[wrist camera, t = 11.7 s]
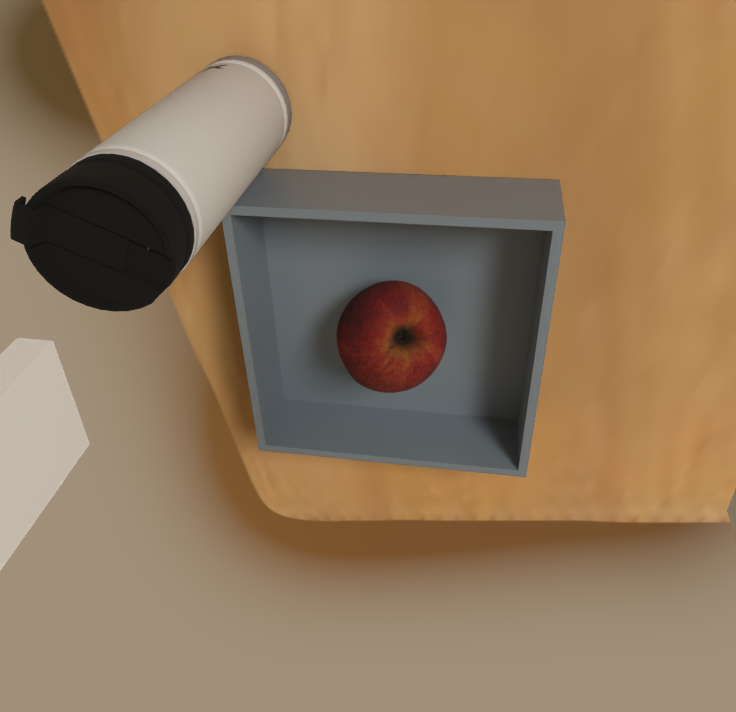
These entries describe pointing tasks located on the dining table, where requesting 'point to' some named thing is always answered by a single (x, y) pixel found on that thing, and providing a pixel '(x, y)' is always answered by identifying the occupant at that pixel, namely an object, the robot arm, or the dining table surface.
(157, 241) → the travel mug
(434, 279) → the tub
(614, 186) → the dining table surface
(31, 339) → the robot arm
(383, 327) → the apple
